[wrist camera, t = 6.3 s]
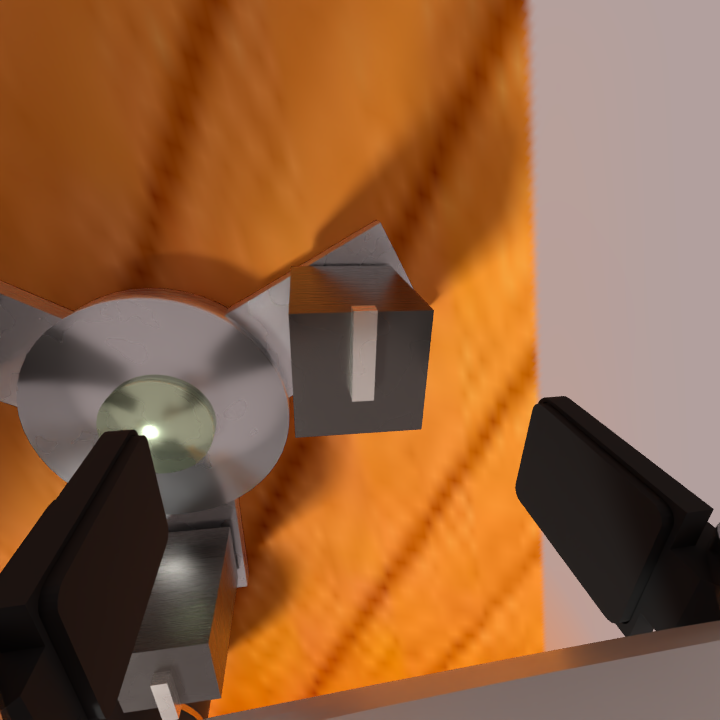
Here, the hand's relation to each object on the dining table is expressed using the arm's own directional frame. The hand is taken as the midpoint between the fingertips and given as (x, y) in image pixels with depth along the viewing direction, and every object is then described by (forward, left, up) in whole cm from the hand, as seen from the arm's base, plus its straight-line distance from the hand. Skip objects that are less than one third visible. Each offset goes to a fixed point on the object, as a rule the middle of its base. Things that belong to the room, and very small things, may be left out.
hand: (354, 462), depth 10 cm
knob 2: (+1, +1, -10) cm, 10 cm away
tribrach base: (-8, -7, -11) cm, 15 cm away
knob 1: (-8, -15, -10) cm, 20 cm away
